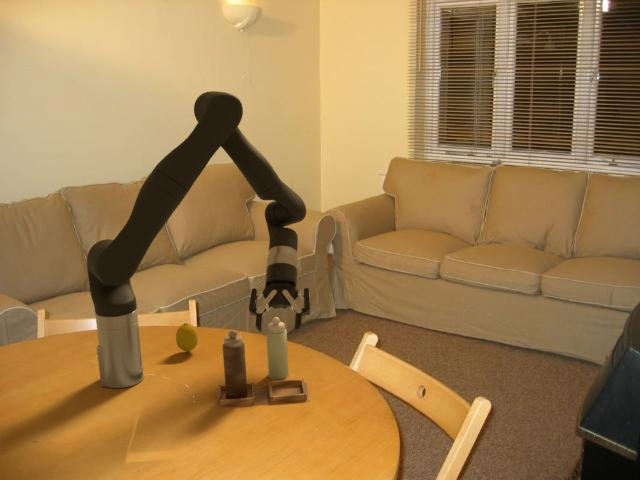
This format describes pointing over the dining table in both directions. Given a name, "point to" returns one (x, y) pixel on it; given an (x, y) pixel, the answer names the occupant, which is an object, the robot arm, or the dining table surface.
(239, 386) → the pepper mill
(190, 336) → the lemon
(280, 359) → the salt mill
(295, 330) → the robot arm
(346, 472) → the dining table surface
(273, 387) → the cruet stand
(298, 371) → the dining table surface
